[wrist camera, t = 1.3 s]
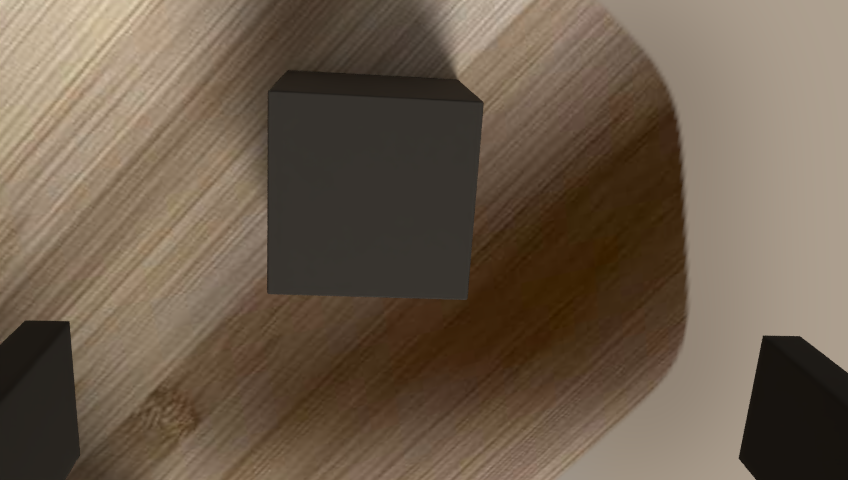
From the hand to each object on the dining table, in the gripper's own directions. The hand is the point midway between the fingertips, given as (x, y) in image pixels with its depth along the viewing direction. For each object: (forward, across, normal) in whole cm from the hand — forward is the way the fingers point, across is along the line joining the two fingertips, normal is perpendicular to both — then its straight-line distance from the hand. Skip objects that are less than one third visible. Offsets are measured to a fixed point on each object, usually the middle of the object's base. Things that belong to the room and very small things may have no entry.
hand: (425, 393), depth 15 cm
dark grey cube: (+15, -1, +2) cm, 15 cm away
